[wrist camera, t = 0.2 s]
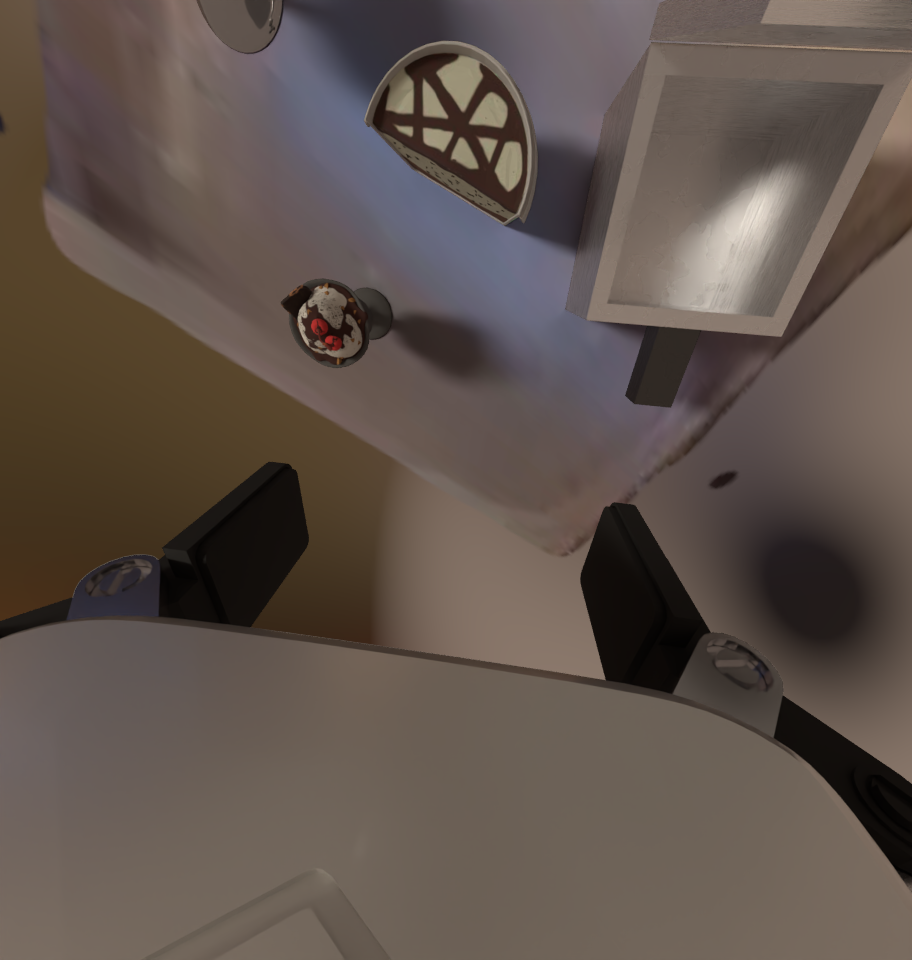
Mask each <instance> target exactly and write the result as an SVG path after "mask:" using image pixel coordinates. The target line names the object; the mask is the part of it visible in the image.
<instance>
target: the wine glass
mask: <svg viewBox="0 0 912 960" xmlns="http://www.w3.org/2000/svg"><path fill="white" fill-rule="evenodd" d="M197 3H198V6H199V8H200V10H201V12H202V14H203V17H204V18H205V20H206V22H207V23H208V25H209V27H210V28H211V29H212V31H213V32H214V33H215V35H216V36H217V37H218V38H219V39H220V40H221V41H222V42H223V43H224V44H226V45H227V46H229V47H230V48H232V49H234V50H236V51H238V52H242V53H255V52H258V51H261V50H262V49H264V48H265V47H267V45H268V44H269V43H270V42H271V41H272V40H273V38H274V36H275V34H276V32H277V30H278V27H279V24H280V20H281V15H282V5H283V0H197Z"/></svg>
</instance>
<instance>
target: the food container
mask: <svg viewBox="0 0 912 960" xmlns="http://www.w3.org/2000/svg"><path fill="white" fill-rule="evenodd" d="M364 122H365V123H366V125H367V126H368V127H370V126H371V127H372V128H373V129H374V130H375V131H376V132H377V133H378V134H379V135H380V136H381V137H382V138H383V139H384V140H385V141H386V143H387V144H388V145H389V146H390V147H391V148H392V149H393V150H394V151H395V152H396V153H397V154H398V155H399V156H400V157H401V158H402V159H403V160H404V161H405V162H406V163H407V164H408V165H409V166H410V167H411V169H413V170H414V171H416V172H418V173H419V174H421V175H422V176H424V177H426V178H427V179H429V180H431V181H432V182H434V183H436V184H437V185H439V186H440V187H442V188H444V189H445V190H447V191H449V192H450V193H452V194H453V195H455V196H457V197H458V198H460V199H462V200H463V201H465V202H467V203H468V204H470V205H471V206H473V207H475V208H476V209H478V210H480V211H481V212H483V213H484V214H486V215H488V216H489V217H491V218H493V219H494V220H496V221H497V222H499V223H501V224H502V225H504V226H506V225H507V224H509V223H510V222H512V221H513V220H515V219H516V218H518V217H519V218H520V219H521V221H522V222H523V223H525V220H526V218H527V215H528V213H529V210H530V207H531V204H532V200H533V196H534V192H535V186H536V179H537V165H538V152H537V143H536V135H535V130H534V126H533V122H532V118H531V115H530V112H529V110H528V107H527V105H526V102H525V100H524V98H523V95H522V94H521V92H520V90H519V88H518V87H517V85H516V83H515V81H514V80H513V78H512V77H511V76H510V74H509V73H508V72H507V71H506V69H505V68H504V67H503V66H502V65H501V64H500V63H499V62H498V61H497V60H495V59H494V58H493V57H492V56H491V55H490V54H488V53H486V52H485V51H483V50H481V49H479V48H477V47H475V46H473V45H470V44H466V43H463V42H459V41H440V42H434V43H429V44H426V45H424V46H422V47H419V48H417V49H415V50H413V51H411V52H410V53H408V54H407V55H406V56H404V57H403V58H402V59H400V60H399V61H398V62H397V63H396V64H395V65H394V66H393V67H392V68H391V69H390V70H389V71H388V72H387V74H386V75H385V76H384V78H383V79H382V81H381V82H380V84H379V85H378V87H377V89H376V91H375V93H374V95H373V97H372V99H371V101H370V103H369V106H368V109H367V112H366V116H365V119H364Z"/></svg>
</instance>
